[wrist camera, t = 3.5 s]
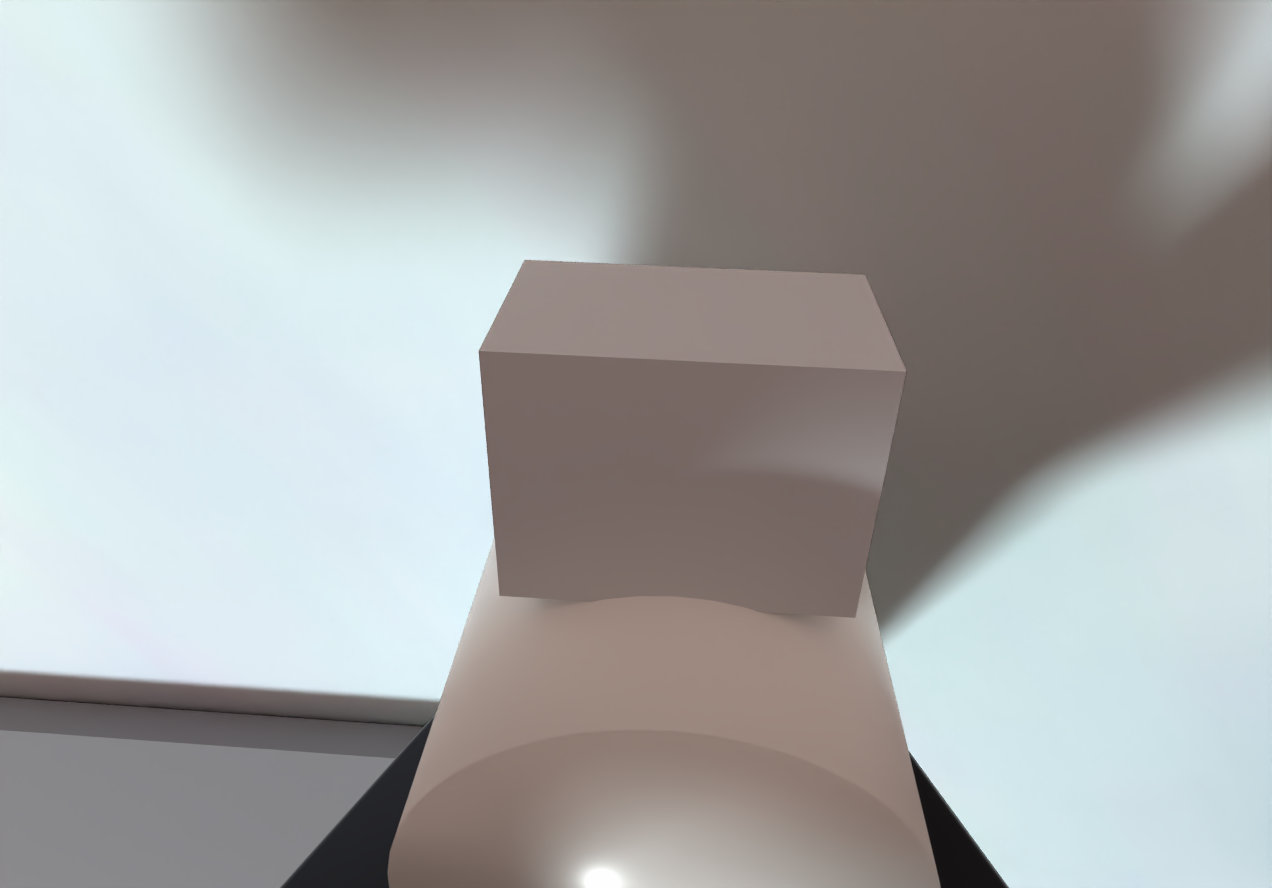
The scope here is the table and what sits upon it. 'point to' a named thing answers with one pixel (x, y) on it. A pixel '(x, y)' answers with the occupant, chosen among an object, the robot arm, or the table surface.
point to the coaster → (174, 793)
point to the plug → (675, 596)
